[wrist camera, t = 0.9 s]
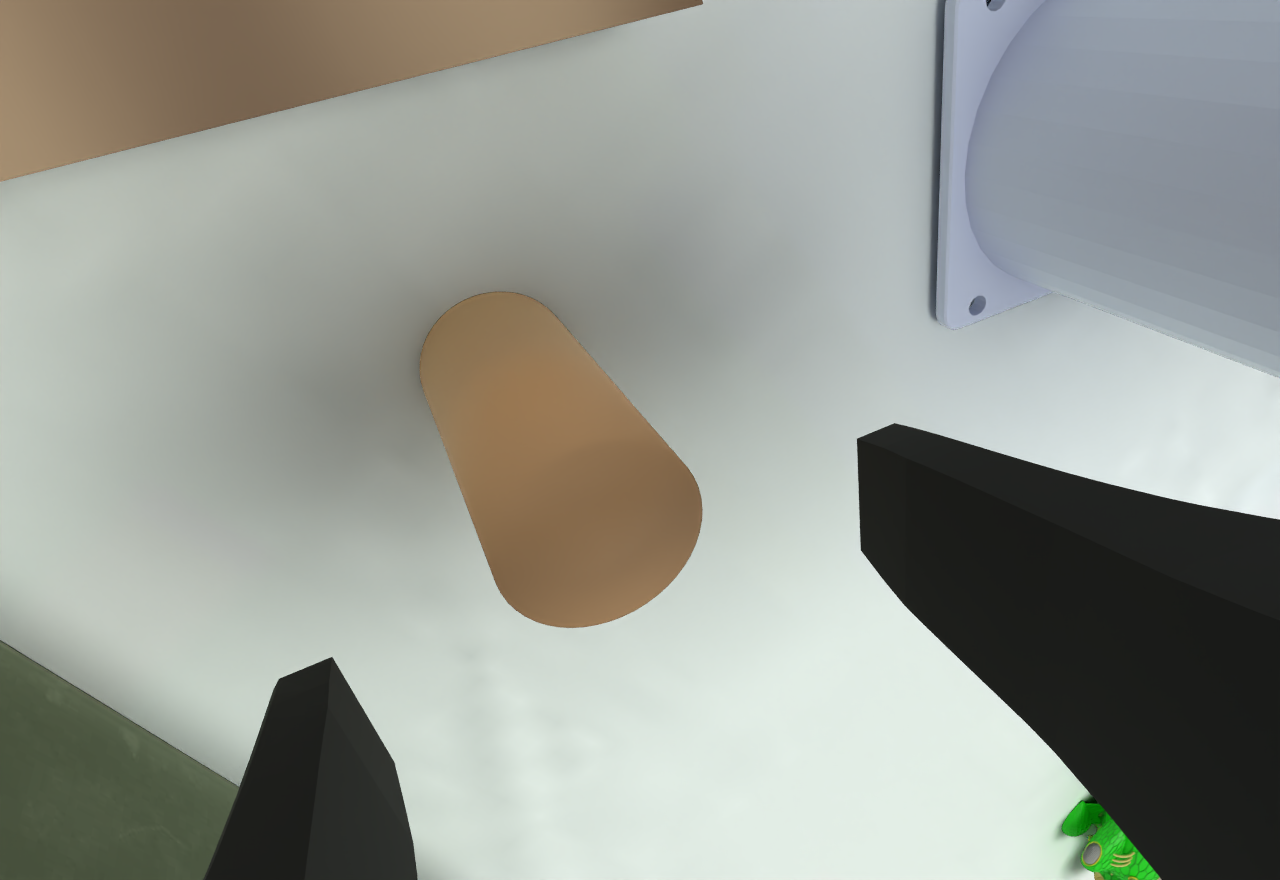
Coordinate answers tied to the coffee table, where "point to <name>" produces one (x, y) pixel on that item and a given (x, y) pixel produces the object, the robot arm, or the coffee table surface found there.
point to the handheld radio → (96, 789)
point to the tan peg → (555, 465)
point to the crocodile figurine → (1106, 846)
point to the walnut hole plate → (239, 60)
